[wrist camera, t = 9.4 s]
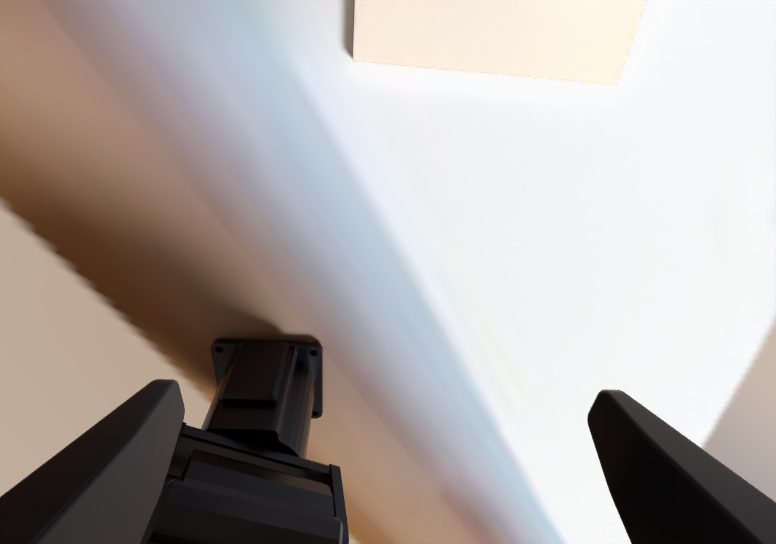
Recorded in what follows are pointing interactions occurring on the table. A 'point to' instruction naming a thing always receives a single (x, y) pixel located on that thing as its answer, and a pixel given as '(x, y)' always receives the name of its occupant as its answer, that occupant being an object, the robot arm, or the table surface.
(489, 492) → the table surface
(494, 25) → the coaster tile
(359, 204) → the table surface
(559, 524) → the table surface
